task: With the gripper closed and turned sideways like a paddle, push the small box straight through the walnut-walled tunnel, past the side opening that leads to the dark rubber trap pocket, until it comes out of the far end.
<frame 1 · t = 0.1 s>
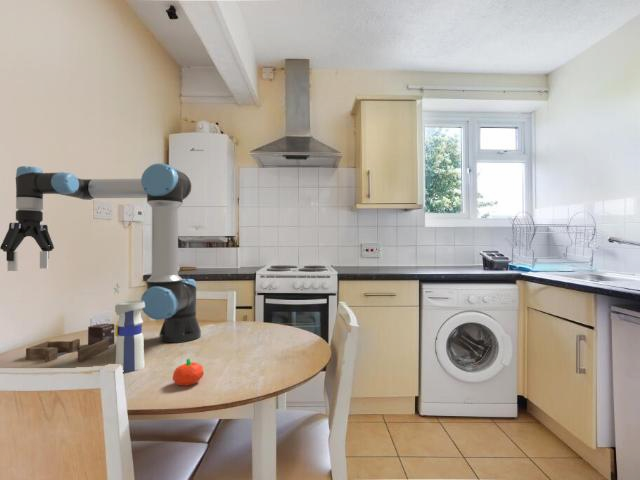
hand: (29, 269, 128), 28 cm above the table, fingers open, 13 cm apart
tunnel: (78, 355, 118), on the table
tomato: (188, 384, 93), on the table
water bottle: (129, 368, 105), on the table
box: (101, 345, 130), on the table
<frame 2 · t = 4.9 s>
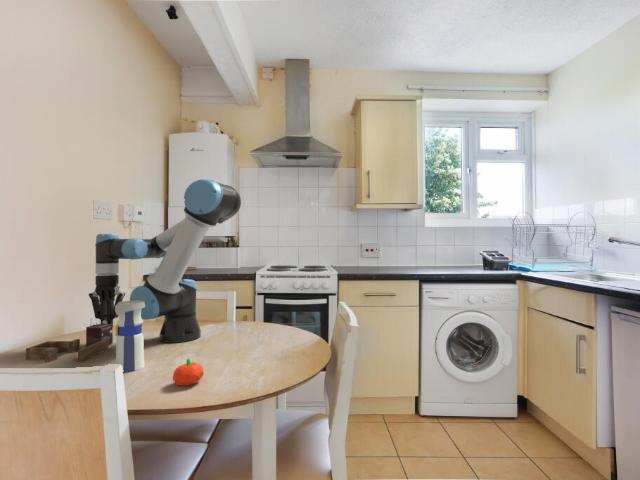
hand: (106, 337, 134), 2 cm above the table, fingers closed
box: (99, 346, 129), on the table
everything else where it was.
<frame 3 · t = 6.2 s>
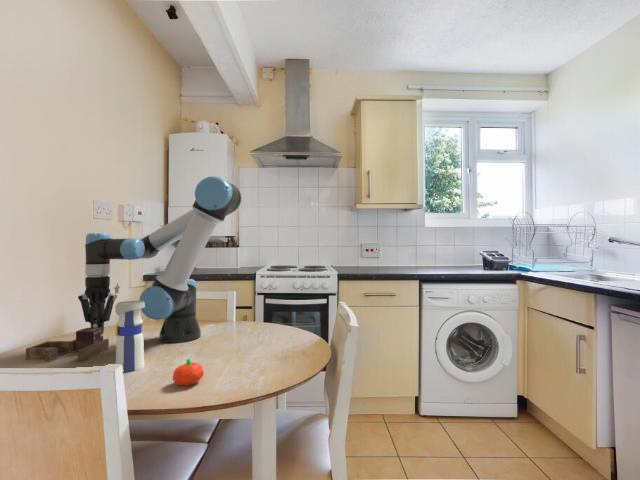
hand: (97, 341, 128), 2 cm above the table, fingers closed
box: (89, 350, 124), on the table, touching gripper
everything else where it was.
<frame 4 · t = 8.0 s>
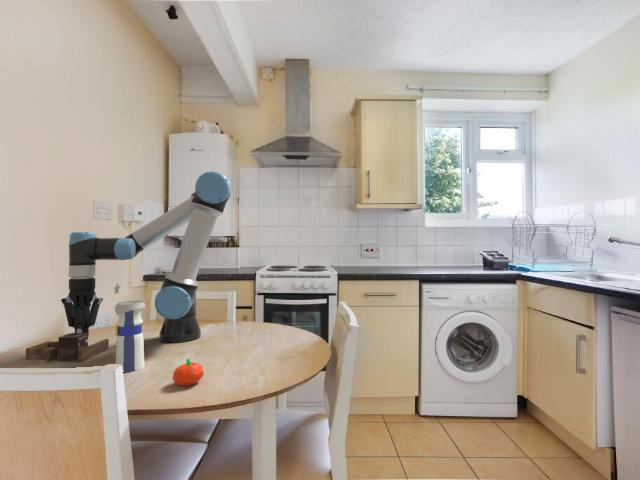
hand: (81, 347, 120), 2 cm above the table, fingers closed
box: (73, 358, 115), on the table, touching gripper
everything else where it was.
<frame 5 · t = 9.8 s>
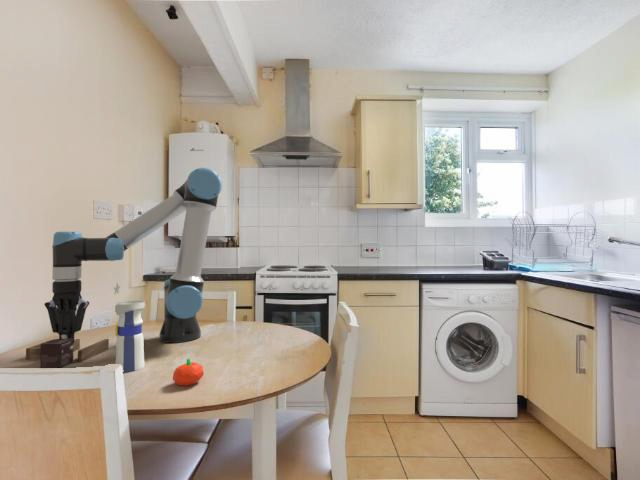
hand: (66, 354, 113), 2 cm above the table, fingers closed
box: (57, 365, 108), on the table, touching gripper
everything else where it was.
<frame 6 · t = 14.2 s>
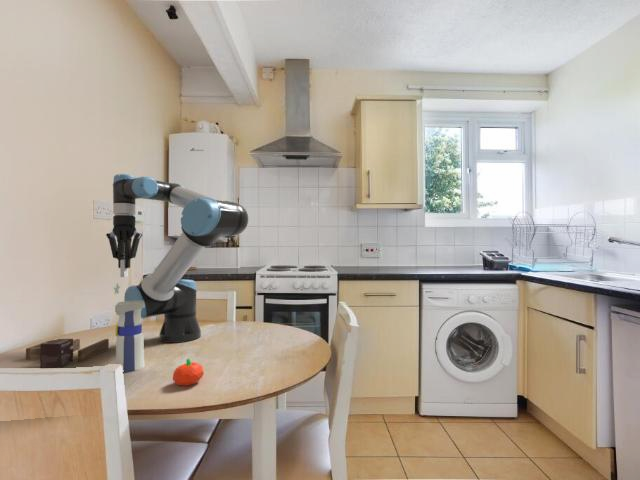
hand: (124, 276, 136), 24 cm above the table, fingers closed
box: (57, 365, 108), on the table
everything else where it was.
at the end: box inside the target area (1.9 cm from its centre), on the table; box tilted 0°; the gripper is holding nothing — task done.
